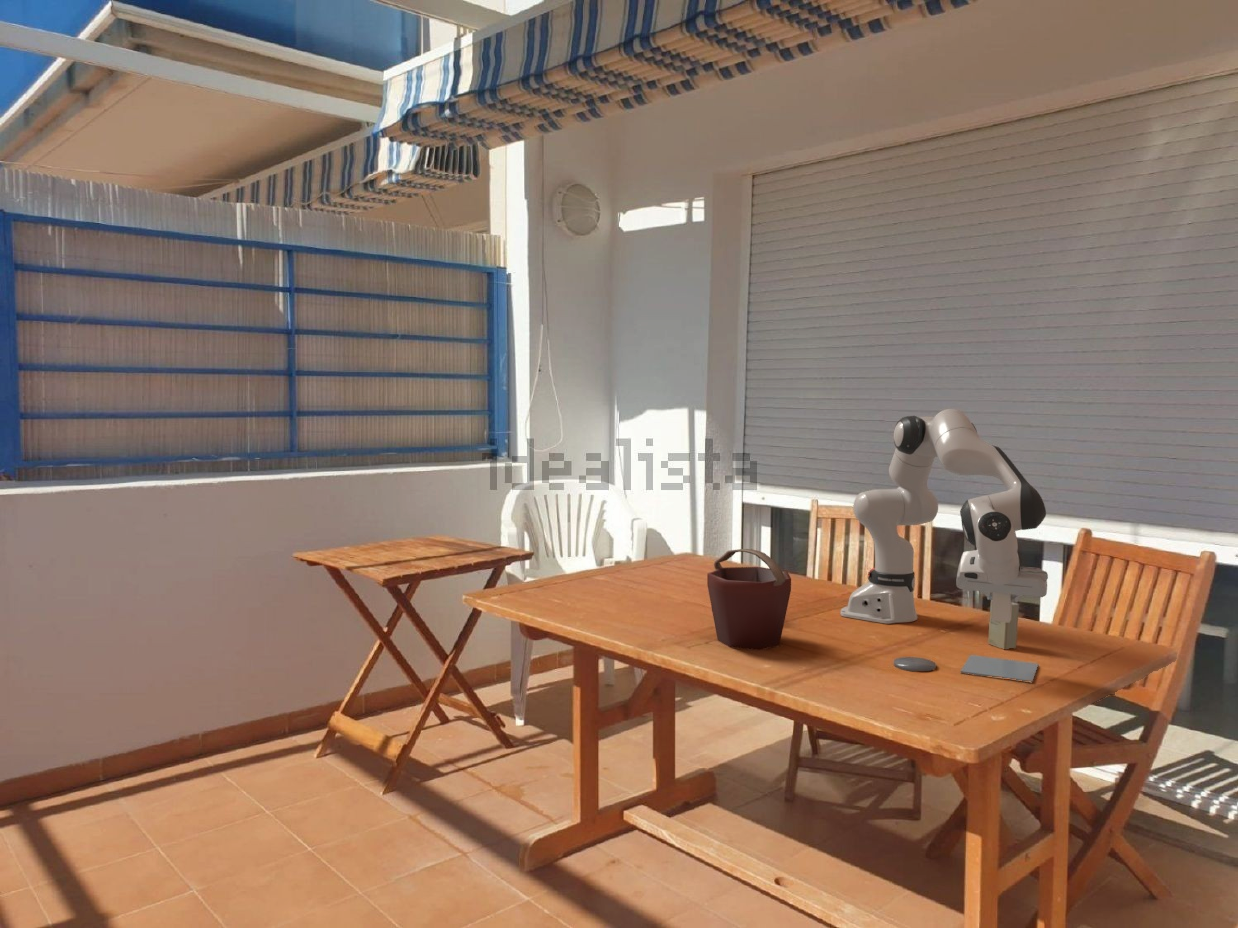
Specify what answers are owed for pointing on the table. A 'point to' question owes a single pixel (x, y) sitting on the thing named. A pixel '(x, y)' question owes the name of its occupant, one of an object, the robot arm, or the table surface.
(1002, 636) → the skincare box
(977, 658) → the tile
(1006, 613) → the block
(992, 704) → the table surface
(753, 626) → the bucket
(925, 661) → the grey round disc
